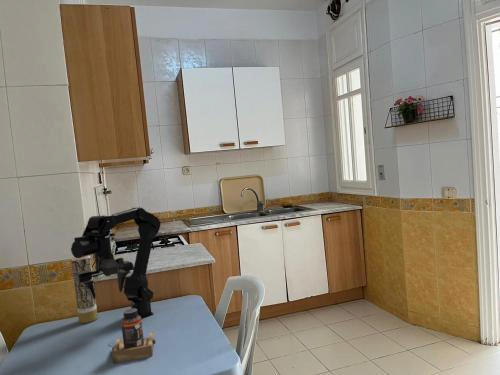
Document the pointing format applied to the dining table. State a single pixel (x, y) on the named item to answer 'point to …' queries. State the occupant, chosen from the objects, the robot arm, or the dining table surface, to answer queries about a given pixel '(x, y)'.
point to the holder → (133, 350)
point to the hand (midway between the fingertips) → (107, 295)
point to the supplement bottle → (132, 329)
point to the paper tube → (84, 291)
